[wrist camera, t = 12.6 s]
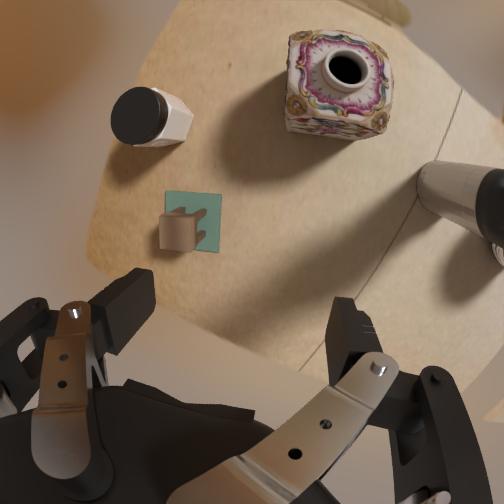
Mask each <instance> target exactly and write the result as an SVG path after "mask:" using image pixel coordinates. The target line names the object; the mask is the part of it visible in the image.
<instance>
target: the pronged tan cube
mask: <svg viewBox="0 0 504 504" xmlns="http://www.w3.org/2000/svg"><path fill="white" fill-rule="evenodd" d="M185 210H186V207H178V208H176V209H174V210H172V211H170V212H166V213H164V214H162V215H160V216H159V239H160V249H167V250H174V251H182V252H189V253H191V252H192V251H193V250H194V249H195V248H196V247H197V244H198V243H199V242H200V241H201V240H202V239H203V238H205V237H206V231H204V230H200V231H199V232H198V233H197V223H198V220H200V219H201V218H203V217H204V216H205V215H207V209H203V208H201V209H199V210H197V211H196V212H194V213H193V214H187V213H185Z"/></svg>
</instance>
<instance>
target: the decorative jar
mask: <svg viewBox="0 0 504 504" xmlns="http://www.w3.org/2000/svg"><path fill="white" fill-rule="evenodd" d="M288 45H289V49H288V59H287V61H286V63H287V84H286V91H287V92H286V94H287V95H286V97H285V108H284V115H285V123H286V129H287V131H289V132H299V133H306V134H313V135H321V136H327V137H334V138H340V139H346V140H352V141H357V140H362V139H366V138H370V137H374V136H377V135H379V134H383V133H384V132H385V130H386V128H387V124H388V121H389V117H390V110H391V107H392V103H393V89H394V87H393V85H394V77H393V69H392V65H391V63H390V61H389V58H388V56H387V52H386V51H385V50H384V49H382V48H381V47H380V46H379V45H377V44H375V43H373V42H372V41H370V40H368V39H367V38H365V37H363V36H361V35H357V34H353V33H350V32H345V31H340V30H329V29H320V30H314V31H312V30H311V31H301V32H296V33H293V34H291V35H290V36H289V41H288Z"/></svg>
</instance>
